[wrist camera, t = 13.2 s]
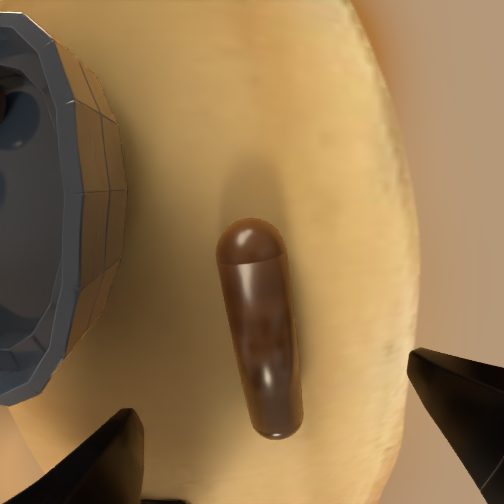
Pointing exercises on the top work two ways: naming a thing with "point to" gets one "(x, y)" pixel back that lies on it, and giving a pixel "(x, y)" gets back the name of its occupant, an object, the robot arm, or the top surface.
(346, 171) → the top surface
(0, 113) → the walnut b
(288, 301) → the stick
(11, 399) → the bowl
